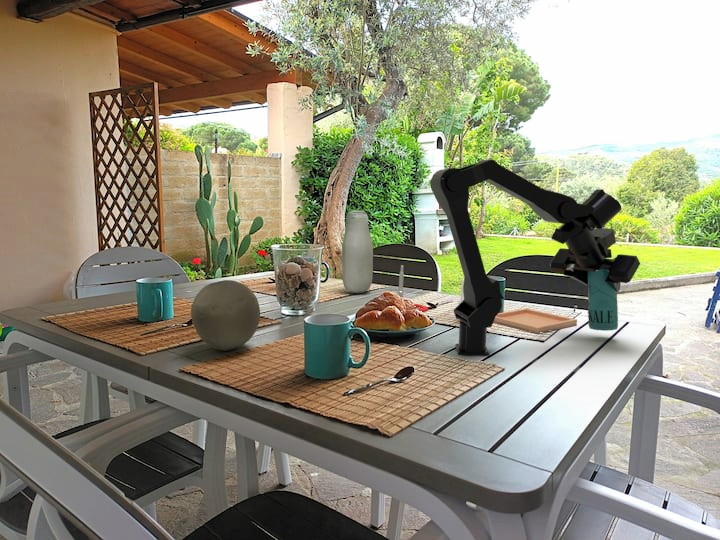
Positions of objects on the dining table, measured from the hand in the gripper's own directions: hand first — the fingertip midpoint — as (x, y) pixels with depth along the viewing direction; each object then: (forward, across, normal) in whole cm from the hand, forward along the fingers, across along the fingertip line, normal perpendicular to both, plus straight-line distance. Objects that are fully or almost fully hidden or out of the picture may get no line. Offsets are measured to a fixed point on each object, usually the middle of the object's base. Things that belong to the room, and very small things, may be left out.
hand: (604, 288), depth 121 cm
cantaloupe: (-45, +38, +64) cm, 87 cm away
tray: (+7, +18, +10) cm, 22 cm away
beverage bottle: (+7, -1, +8) cm, 11 cm away
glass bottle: (-3, +78, +21) cm, 81 cm away
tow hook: (-4, +48, +21) cm, 53 cm away
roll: (+11, +44, +7) cm, 46 cm away
